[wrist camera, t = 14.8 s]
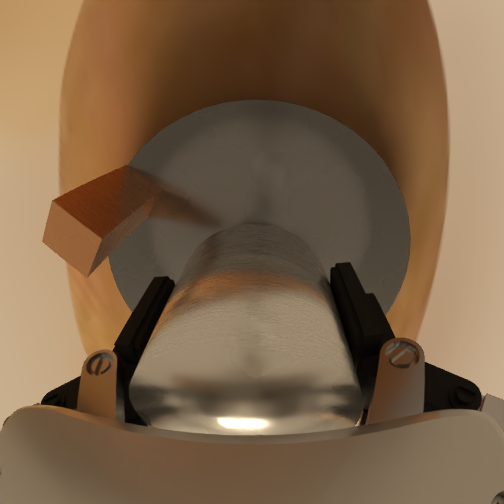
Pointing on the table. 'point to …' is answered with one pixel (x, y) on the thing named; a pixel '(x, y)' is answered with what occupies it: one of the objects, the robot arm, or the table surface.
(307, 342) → the cover
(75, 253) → the turntable
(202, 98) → the table surface
